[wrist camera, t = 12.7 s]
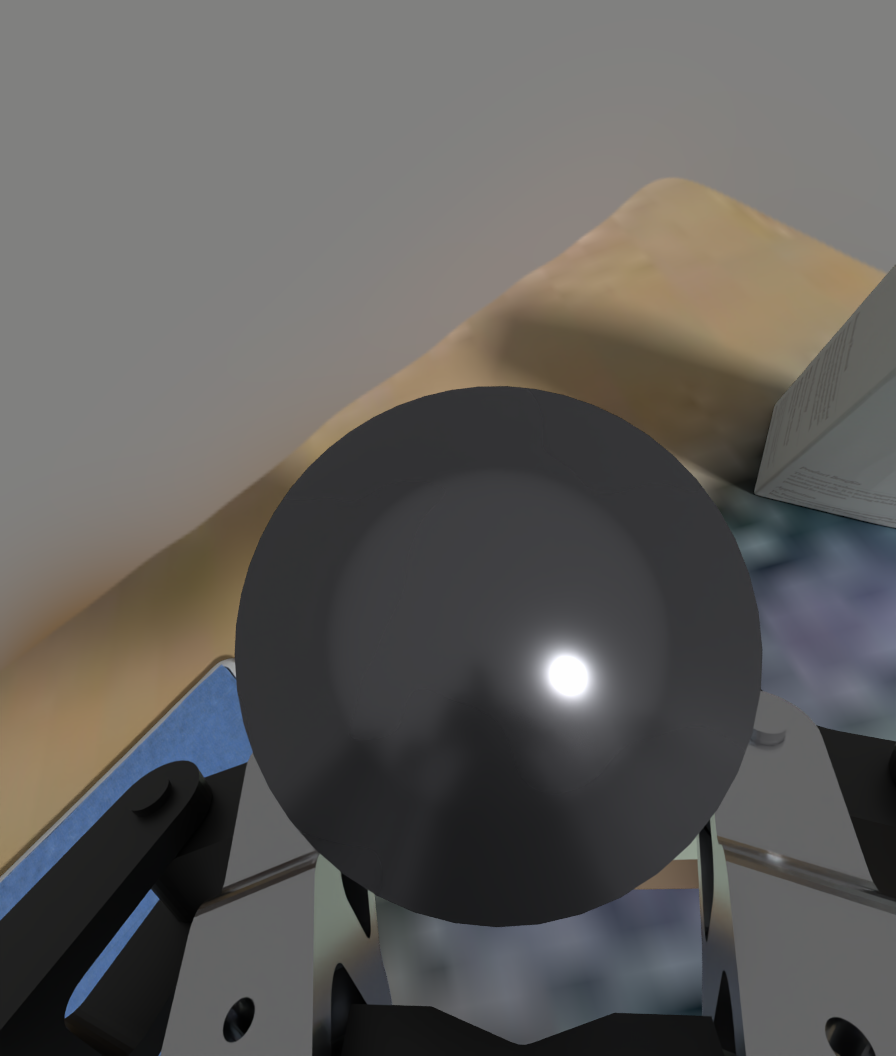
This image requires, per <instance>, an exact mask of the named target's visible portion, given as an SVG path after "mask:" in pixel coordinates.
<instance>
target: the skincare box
mask: <svg viewBox="0 0 896 1056" xmlns="http://www.w3.org/2000/svg"><path fill="white" fill-rule="evenodd" d="M754 493H755V494H756V495H759V496H763V497H767V498H771V499H775V500H780V501H784V502H788V503H792V504H796V505H800V506H804V507H808V508H812V509H817V510H821V511H825V512H829V513H833V514H837V515H842V516H846V517H850V518H854V519H858V520H862V521H866V522H871V523H875V524H879V525H884V526H888V527H893V528H896V265H895V266H894V267H893V268H892V269H891V270H890V271H889V273H888V274H887V275H886V276H885V277H884V278H883V279H882V281H881V282H880V283H879V284H878V285H877V287H876V288H875V289H874V290H873V291H872V292H871V293H870V295H869V296H868V297H867V298H866V299H865V300H864V301H863V303H862V304H861V305H860V306H859V307H858V309H857V310H856V311H855V312H854V313H853V314H852V316H851V317H850V318H849V319H848V320H847V321H846V323H845V324H844V325H843V326H842V327H841V328H840V330H839V331H838V332H837V333H836V334H835V335H834V336H833V337H832V339H831V340H830V341H829V342H828V343H827V344H826V346H825V347H824V348H823V349H822V350H821V351H820V353H819V354H818V355H817V356H816V357H815V358H814V360H813V361H812V362H811V363H810V364H809V365H808V367H807V368H806V369H805V370H804V372H803V373H802V374H801V375H800V376H799V377H798V378H797V380H796V381H795V382H794V383H793V384H792V385H791V386H790V388H789V389H788V390H787V391H786V392H785V393H784V395H783V396H782V397H781V398H780V399H779V400H778V401H777V403H776V404H775V406H774V410H773V414H772V419H771V423H770V427H769V431H768V436H767V440H766V444H765V448H764V452H763V456H762V461H761V465H760V469H759V473H758V478H757V482H756V485H755V490H754Z"/></svg>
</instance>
